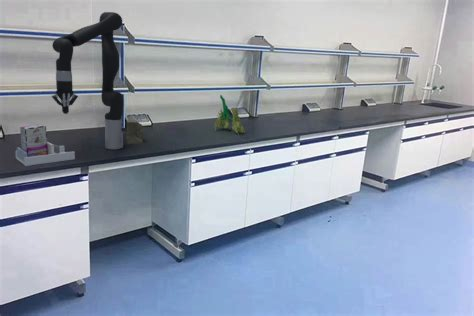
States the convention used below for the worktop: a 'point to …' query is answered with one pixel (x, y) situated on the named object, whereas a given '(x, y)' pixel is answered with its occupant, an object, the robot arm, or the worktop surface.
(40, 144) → the candy bar box
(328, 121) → the worktop surface
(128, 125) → the stone block
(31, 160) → the grey shallow tray
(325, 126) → the worktop surface
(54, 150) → the pusher
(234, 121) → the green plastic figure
